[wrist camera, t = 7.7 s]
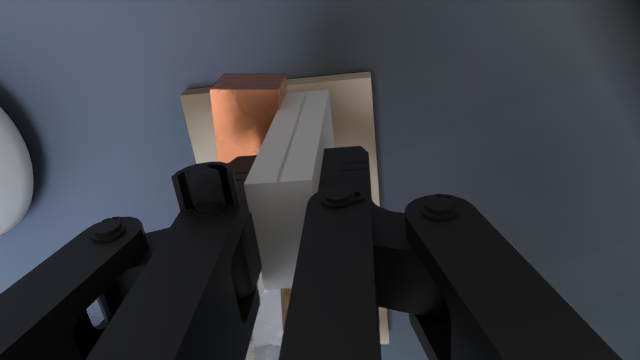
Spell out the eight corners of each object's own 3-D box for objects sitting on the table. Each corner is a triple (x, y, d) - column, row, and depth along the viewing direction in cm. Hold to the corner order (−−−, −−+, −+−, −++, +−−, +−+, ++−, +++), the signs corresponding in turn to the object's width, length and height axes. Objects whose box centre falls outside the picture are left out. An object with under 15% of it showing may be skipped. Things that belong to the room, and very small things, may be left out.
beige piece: (388, 330, 34) (401, 477, 25) (245, 336, 35) (207, 479, 26) (370, 71, 26) (379, 147, 17) (186, 89, 27) (101, 169, 18)
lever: (310, 376, 22) (307, 411, 20) (243, 373, 22) (234, 408, 20) (301, 73, 16) (295, 89, 14) (209, 73, 16) (192, 89, 14)
